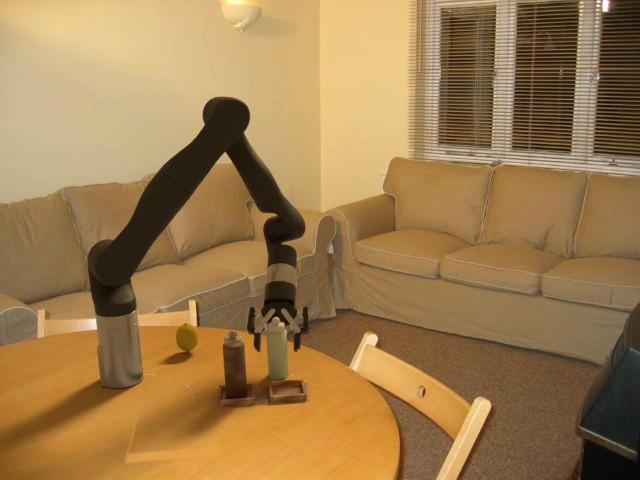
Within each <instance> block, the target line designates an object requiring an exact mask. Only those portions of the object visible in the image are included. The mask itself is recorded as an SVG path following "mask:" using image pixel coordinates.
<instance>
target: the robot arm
mask: <svg viewBox="0 0 640 480" xmlns="http://www.w3.org/2000/svg"><path fill="white" fill-rule="evenodd" d="M201 116H202V121H203V124H204V125H203V126H202V128H201V130H200V131H199V132H198V133H197V135H196V136H195V137H194V138H193V140H192V141H190V143H188V144H187V145H186V146H185V147H183V148H181V150H180V151H178V152H177V153H175V154H174V155H173V156H172V157H171V158H169V159H168V160H167V161H166V162H165V163H164V164H163V165H162V166H161V167H160V168H159V169H158V171H156V173H155V174H154V175H153V177H152V178H151V179H150V181H149V182H148V183H147V185H146V186H145V188H144V189H143V191H142V194H141V195H140V197H139V199H138V201H137V204H136V207H135V208H134V211H133V213H132V215H131V217H130V219H129V220H128V222H127V223H126V225H125V226H124V228H123V229H122V230H121V231H120V232H119V233H118V235H117V236H116V237H115V238H114V239H111V238H106V239H105V238H104V239H102V240H99V241H98V242H96V243H95V244H94V245H92V247H91V248H90V250H89V252H88V253H87V254H88V255H87V260H86V261H87V263H86V264H87V271H88V272H87V273H88V279H89V288H90V294H91V299H92V303H93V307H94V313H95V321H96V322H95V324H96V332H97V340H98V344H97V347H96V353H97V354H96V355H97V362H98V372H99V379H100V386H101V387H108V388H110V389H111V388H112V389H123V388H129V387H132V386H135V385H137V384H139V383H141V382H142V381H143V379H144V368H143V358H142V357H143V356H142V348H141V345H142V344H141V337H140V324H139V318H138V306H137V298H136V297H137V296H136V294H135V291H134V288H133V285H132V277H133V276H134V274H135V273H136V271H137V270H138V268H139V267H140V265H141V264H142V261H143V260H144V258H145V257H146V255H147V253H149V251H150V249H151V247H152V246H153V244H154V243H155V242H156V240H157V239H158V238H159V236H161V234H162V233H163V232H164V231H165V229H166V228H167V227H168V226H169V225H170V223H171V222H172V221H173V220H174V219H175V217H176V216H177V214H178V213H179V212H180V211H181V210H182V209H183V208H184V206H185V205H186V204H187V202H188V201H189V200H190V198H191V197H192V196H193V195H194V194H195V192H196V190H197V189H198V188H199V186H200V185H201V184H202V183H203V181H204V180H205V178H207V176H208V174H209V173H210V172H211V170H212V169H213V167H214V166H215V164H216V163H217V162H218V161H219V160H220V158H221V157H223V155H224V154H225V153H226V155H227V157H228V158H229V159H230V162H231V163H232V165H233V166H234V168H235V170H236V171H237V173H238V174H239V176H240V179H242V182H243V183H244V185H245V188H246V189H247V191H248V193H249V195H250V197H251V199H252V201H253V202H254V204H255V206H256V207H257V209H258V211H259V212H260V213H263V214H275V215H274V216H271V217H268V218H267V219H266V220H265V221H264V224H263V227H262V233H263V237H264V240H265V245H266V249H267V268H266V269H267V270H266V274H265V282H264V295H263V296H264V297H263V305H262V308H261V309H260V308H255V306H251V307H249V312H248V318H247V324H246V331H247V333H248V335H250V336H253V347H254V350H256V352H257V353H260V352H261V347H262V335H263V333H265V332H266V331H267V330H268V324H269V323H270V322H272V319H273V318H274V317H278V318H279V319H280V322H283V323H284V324H285V329H286V328H287V327H289V329H290V330H291V331H292V332H293V335H294V336H293V352H294V353H298V351H299V350H301V347H302V346H301V344H302V336H304V335H306V336H307V335H309V334H310V312H309V308H308V307H307V306H303V307H302V308H297V287H298V282H297V281H298V280H297V279H298V277H297V264H298V263H297V260H298V254H297V253H298V252H297V250H296V249H295V248H294V246H291V245H289V244H284V243H287V242H290V241H295V240H298V239H301V238H303V237H304V235H305V233H306V221H305V219H304V217H303V216H302V214H301V213H300V212H299V210H298V209H297V208H296V207H295V206H294V205H293V204H292V203H291V202H290V201H289V199H287V198H286V197H285V195H284V193H283V192H282V191H281V188H280V186H279V184H278V183H277V181H276V179H275V177H274V175H273V173H272V172H271V170H270V169H269V167H268V166H267V165H266V164H265V163H264V161H263V159H261V157H260V156H259V155H258V154H257V152H256V151H255V149H254V148H253V146H252V145H251V143H250V142H249V140H248V137H247V135H246V134H245V132H246V130H247V129H248V126H249V124H250V120H251V112H250V108H249V107H248V105H247V103H246V102H244V100H243V99H240V98H237V97H234V96H215V97H212V98H210V99H209V100H207V102H205V105H204V107H203V110H202V115H201ZM260 316H262V320H261V321H260V322H259V324H257V326H256V327H255V325H256V319H258V318H259V317H260ZM297 316H299V317H300V319H302V324H303V326H302V327H300V326H298V324H297V323H296V321H295V320H294V319H296V317H297Z"/></svg>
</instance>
